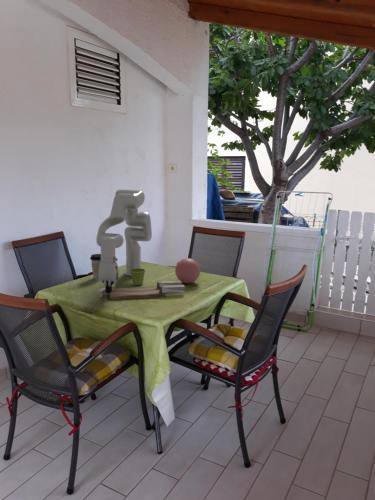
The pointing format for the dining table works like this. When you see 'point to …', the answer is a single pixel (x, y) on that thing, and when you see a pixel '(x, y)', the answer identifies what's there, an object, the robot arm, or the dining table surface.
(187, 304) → the dining table surface
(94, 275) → the coffee cup
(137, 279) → the plant pot
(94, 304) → the dining table surface
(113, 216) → the robot arm
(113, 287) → the folding leg
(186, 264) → the balloon
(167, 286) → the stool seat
